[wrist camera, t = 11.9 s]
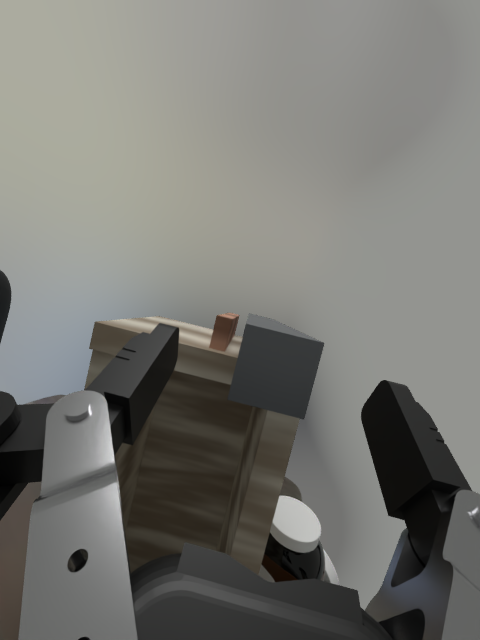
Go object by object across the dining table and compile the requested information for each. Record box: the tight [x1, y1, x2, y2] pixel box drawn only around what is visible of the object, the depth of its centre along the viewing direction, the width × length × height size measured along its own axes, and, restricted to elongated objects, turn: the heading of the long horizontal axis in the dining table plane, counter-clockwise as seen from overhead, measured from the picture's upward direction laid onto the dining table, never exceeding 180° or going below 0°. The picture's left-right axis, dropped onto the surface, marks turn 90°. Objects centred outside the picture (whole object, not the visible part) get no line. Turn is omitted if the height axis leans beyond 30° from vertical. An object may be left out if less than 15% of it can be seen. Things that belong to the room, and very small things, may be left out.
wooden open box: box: [84, 313, 300, 575], centre depth 25 cm, size 13×16×34 cm
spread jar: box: [258, 496, 340, 586], centre depth 33 cm, size 12×11×12 cm
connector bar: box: [227, 314, 324, 419], centre depth 20 cm, size 21×3×3 cm, turn 177°
